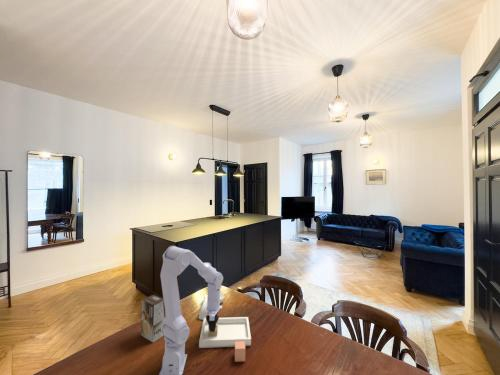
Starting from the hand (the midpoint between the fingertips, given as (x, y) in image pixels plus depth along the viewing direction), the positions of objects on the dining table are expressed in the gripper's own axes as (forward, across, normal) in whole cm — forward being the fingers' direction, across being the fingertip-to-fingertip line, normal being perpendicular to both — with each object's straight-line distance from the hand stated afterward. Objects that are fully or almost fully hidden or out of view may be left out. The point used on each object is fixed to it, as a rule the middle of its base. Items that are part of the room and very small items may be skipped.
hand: (212, 327), depth 99 cm
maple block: (+3, 0, 0) cm, 3 cm away
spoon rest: (+4, +23, +3) cm, 23 cm away
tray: (+3, 0, -6) cm, 7 cm away
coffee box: (+4, +1, +27) cm, 27 cm away
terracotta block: (+4, -14, -12) cm, 19 cm away
